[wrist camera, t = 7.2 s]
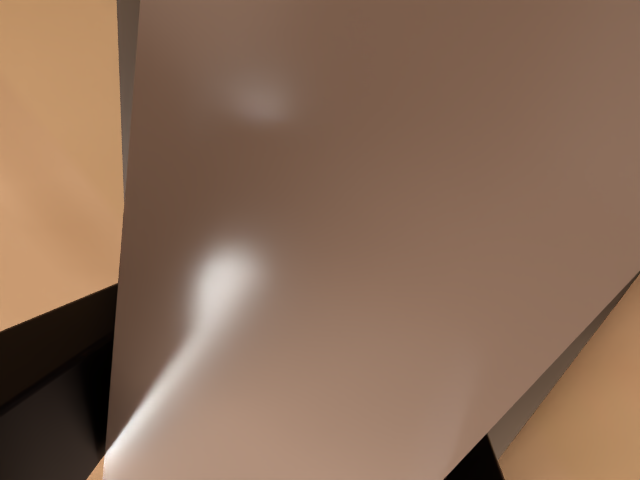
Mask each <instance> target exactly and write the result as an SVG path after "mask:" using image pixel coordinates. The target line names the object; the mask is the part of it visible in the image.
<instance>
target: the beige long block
mask: <svg viewBox="0 0 640 480" xmlns="http://www.w3.org/2000/svg"><path fill="white" fill-rule="evenodd" d="M639 271H640V0H140V10H139V23H138V36H137V49H136V61H135V74H134V87H133V100H132V113H131V126H130V138H129V151H128V164H127V177H126V190H125V203H124V215H123V228H122V241H121V254H120V267H119V279H118V292H117V305H116V318H115V331H114V344H113V356H112V369H111V382H110V395H109V408H108V421H107V433H106V446H105V459H104V472H103V480H443V479H444V478H445V477H446V476H447V475H448V474H449V473H450V472H451V471H452V470H453V469H454V468H455V467H456V466H457V464H458V463H459V462H460V461H461V460H462V459H463V458H464V457H465V456H466V455H467V454H468V453H469V452H470V451H471V450H472V449H473V447H474V446H475V445H476V444H477V443H478V442H479V441H480V440H481V439H482V438H483V437H484V436H485V435H486V434H487V433H488V431H489V430H490V429H491V428H492V427H493V426H494V425H495V424H496V423H497V422H498V421H499V420H500V419H501V418H502V417H503V416H504V414H505V413H506V412H507V411H508V410H509V409H510V408H511V407H512V406H513V405H514V404H515V403H516V402H517V401H518V400H519V399H520V397H521V396H522V395H523V394H524V393H525V392H526V391H527V390H528V389H529V388H530V387H531V386H532V385H533V384H534V383H535V382H536V380H537V379H538V378H539V377H540V376H541V375H542V374H543V373H544V372H545V371H546V370H547V369H548V368H549V367H550V366H551V365H552V363H553V362H554V361H555V360H556V359H557V358H558V357H559V356H560V355H561V354H562V353H563V352H564V351H565V350H566V349H567V348H568V346H569V345H570V344H571V343H572V342H573V341H574V340H575V339H576V338H577V337H578V336H579V335H580V334H581V333H582V332H583V331H584V329H585V328H586V327H587V326H588V325H589V324H590V323H591V322H592V321H593V320H594V319H595V318H596V317H597V316H598V315H599V314H600V312H601V311H602V310H603V309H604V308H605V307H606V306H607V305H608V304H609V303H610V302H611V301H612V300H613V299H614V298H615V297H616V295H617V294H618V293H619V292H620V291H621V290H622V289H623V288H624V287H625V286H626V285H627V284H628V283H629V282H630V281H631V280H632V278H633V277H634V276H635V275H636V274H637V273H638V272H639Z"/></svg>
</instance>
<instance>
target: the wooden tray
mask: <svg viewBox="0 0 640 480" xmlns="http://www.w3.org/2000/svg"><path fill="white" fill-rule="evenodd" d="M139 10H140V0H117V20H118V47H119V74H120V101H121V128H122V155H123V182H124V203H125V190H126V177H127V164H128V151H129V138H130V126H131V113H132V100H133V87H134V74H135V61H136V49H137V36H138V23H139ZM639 274H640V271H639V272H638V273H637V274H636V275H635V276H634V277H633V278H632V280H631V281H630V282H629V283H628V284H627V285H626V286H625V287H624V288H623V289H622V290H621V291H620V292H619V293H618V294H617V295H616V297H615V298H614V299H613V300H612V301H611V302H610V303H609V304H608V305H607V306H606V307H605V308H604V309H603V310H602V311H601V312H600V314H599V315H598V316H597V317H596V318H595V319H594V320H593V321H592V322H591V323H590V324H589V325H588V326H587V327H586V328H585V329H584V331H583V332H582V333H581V334H580V335H579V336H578V337H577V338H576V339H575V340H574V341H573V342H572V343H571V344H570V345H569V346H568V348H567V349H566V350H565V351H564V352H563V353H562V354H561V355H560V356H559V357H558V358H557V359H556V360H555V361H554V362H553V363H552V365H551V366H550V367H549V368H548V369H547V370H546V371H545V372H544V373H543V374H542V375H541V376H540V377H539V378H538V379H537V380H536V382H535V383H534V384H533V385H532V386H531V387H530V388H529V389H528V390H527V391H526V392H525V393H524V394H523V395H522V396H521V397H520V399H519V400H518V401H517V402H516V403H515V404H514V405H513V406H512V407H511V408H510V409H509V410H508V411H507V412H506V413H505V414H504V416H503V417H502V418H501V419H500V420H499V421H498V422H497V423H496V424H495V425H494V426H493V427H492V428H491V429H490V430H489V431H488V436H489V439H490V441H491V444H492V447H493V449H494V452H495V455H496V458H497V460H498V459H499V458H500V457H501V455H502V454H503V453H504V451H505V450H506V449H507V447H508V446H509V445H510V443H511V442H512V441H513V439H514V438H515V437H516V435H517V434H518V433H519V432H520V430H521V429H522V428H523V426H524V425H525V424H526V422H527V421H528V420H529V418H530V417H531V416H532V414H533V413H534V412H535V411H536V409H537V408H538V407H539V405H540V404H541V403H542V401H543V400H544V399H545V397H546V396H547V395H548V393H549V392H550V391H551V389H552V388H553V387H554V386H555V384H556V383H557V382H558V380H559V379H560V378H561V376H562V375H563V374H564V372H565V371H566V370H567V368H568V367H569V366H570V365H571V363H572V362H573V361H574V359H575V358H576V357H577V355H578V354H579V353H580V351H581V350H582V349H583V347H584V346H585V345H586V344H587V342H588V341H589V340H590V338H591V337H592V336H593V334H594V333H595V332H596V330H597V329H598V328H599V326H600V325H601V324H602V322H603V321H604V320H605V319H606V317H607V316H608V315H609V313H610V312H611V311H612V309H613V308H614V307H615V305H616V304H617V303H618V301H619V300H620V299H621V298H622V296H623V295H624V294H625V292H626V291H627V290H628V288H629V287H630V286H631V284H632V283H633V282H634V280H635V279H636V278H637V277H638V275H639Z"/></svg>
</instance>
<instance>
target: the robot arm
mask: <svg viewBox="0 0 640 480" xmlns="http://www.w3.org/2000/svg"><path fill="white" fill-rule="evenodd" d="M117 292H118V283H117V284H114V285H112V286H110V287H107V288H105V289H102V290H100V291H97V292H95V293H93V294H90V295H88V296H85V297H83V298H80V299H78V300H76V301H73V302H71V303H68V304H66V305H64V306H61V307H59V308H56V309H54V310H51V311H49V312H47V313H44V314H42V315H39V316H37V317H34V318H32V319H30V320H27V321H25V322H22V323H20V324H18V325H15V326H13V327H10V328H8V329H5V330H3V331H1V332H0V480H86V479H87V478H88V476H89V475H90V474H91V472H92V471H93V470H94V468H95V467H96V466H97V464H98V463H99V461H100V460H101V459H102V457H103V456H104V455H105V446H106V433H107V421H108V408H109V395H110V382H111V369H112V356H113V344H114V331H115V318H116V305H117ZM443 480H505V479H504V477H503V474H502V471H501V468H500V466H499V463H498V460H497V458H496V455H495V452H494V449H493V447H492V444H491V441H490V439H489V436H488V433H487V434H486V435H485V436H484V437H483V438H482V439H481V440H480V441H479V442H478V443H477V444H476V445H475V446H474V447H473V449H472V450H471V451H470V452H469V453H468V454H467V455H466V456H465V457H464V458H463V459H462V460H461V461H460V462H459V463H458V464H457V466H456V467H455V468H454V469H453V470H452V471H451V472H450V473H449V474H448V475H447V476H446V477H445V478H444V479H443Z"/></svg>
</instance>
